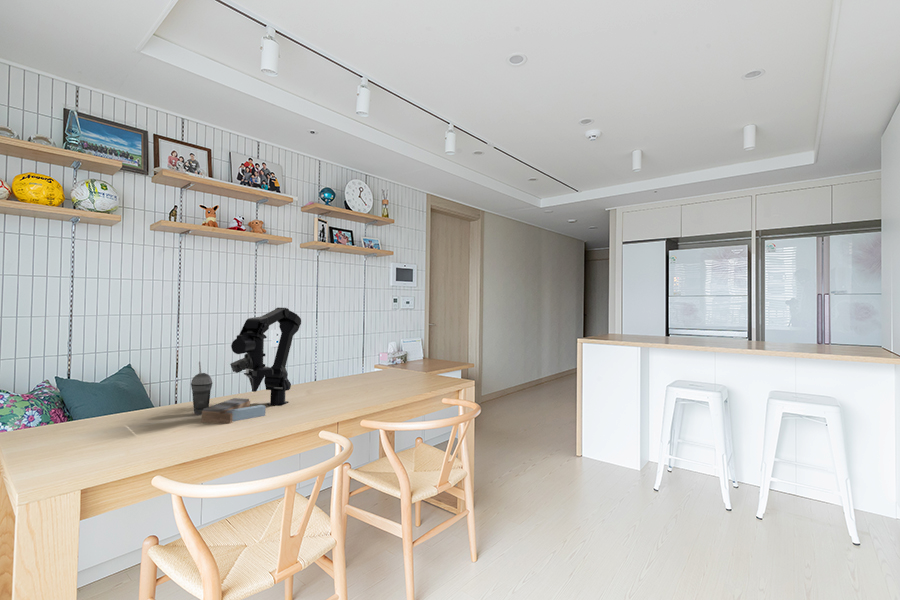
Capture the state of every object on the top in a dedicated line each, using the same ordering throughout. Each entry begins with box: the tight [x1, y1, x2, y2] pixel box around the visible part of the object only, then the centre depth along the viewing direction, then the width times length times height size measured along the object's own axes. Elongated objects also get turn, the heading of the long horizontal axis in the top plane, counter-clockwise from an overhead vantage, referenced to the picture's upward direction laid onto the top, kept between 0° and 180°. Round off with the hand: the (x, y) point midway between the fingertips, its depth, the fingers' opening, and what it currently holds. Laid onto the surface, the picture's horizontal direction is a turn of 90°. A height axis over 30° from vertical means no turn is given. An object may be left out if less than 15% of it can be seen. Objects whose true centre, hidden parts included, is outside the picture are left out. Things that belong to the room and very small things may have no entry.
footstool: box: [201, 397, 251, 424], centre depth 160 cm, size 18×11×5 cm, turn 173°
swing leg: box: [226, 404, 266, 422], centre depth 157 cm, size 14×3×4 cm, turn 138°
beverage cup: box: [190, 361, 213, 416], centre depth 163 cm, size 7×7×20 cm
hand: (254, 391), depth 164 cm, fingers closed
